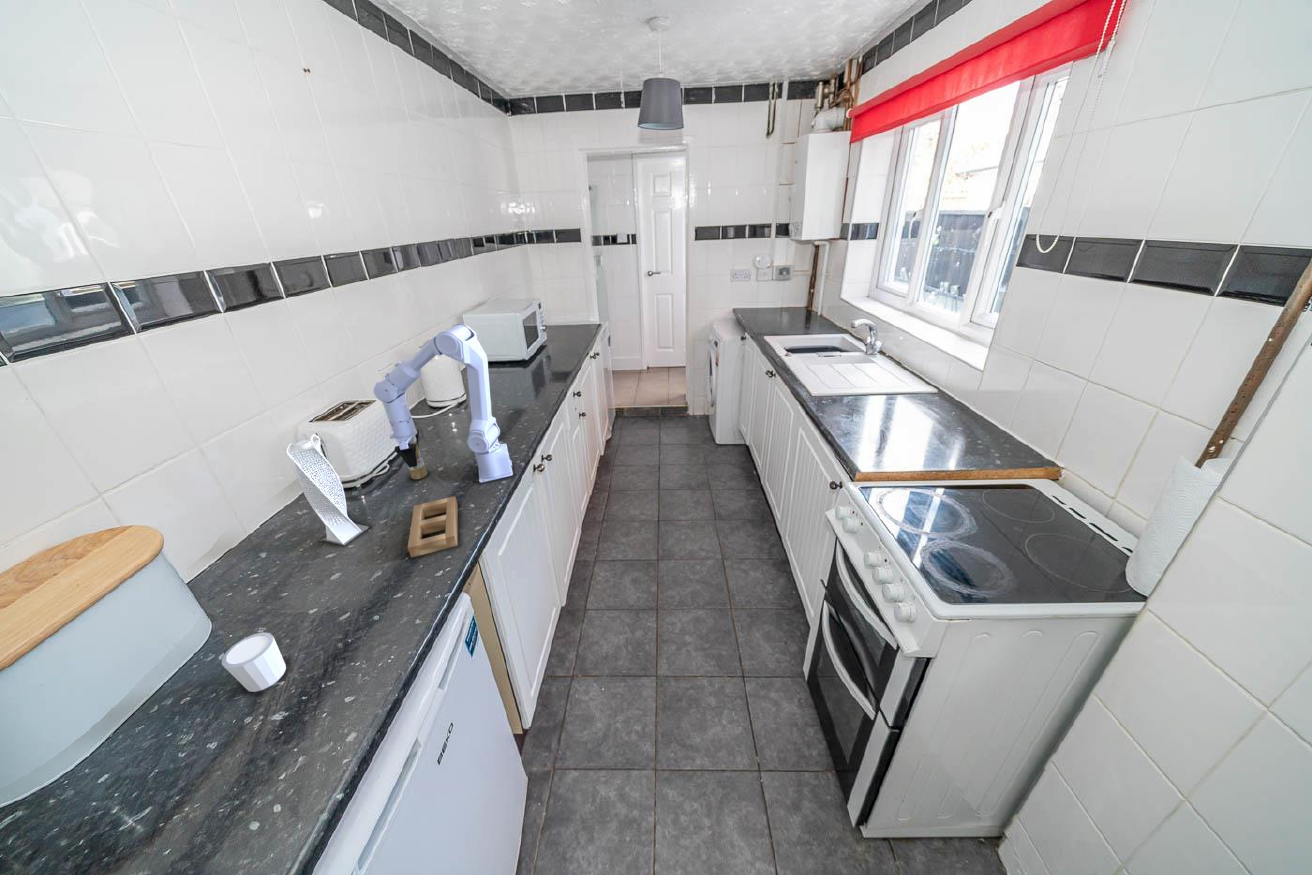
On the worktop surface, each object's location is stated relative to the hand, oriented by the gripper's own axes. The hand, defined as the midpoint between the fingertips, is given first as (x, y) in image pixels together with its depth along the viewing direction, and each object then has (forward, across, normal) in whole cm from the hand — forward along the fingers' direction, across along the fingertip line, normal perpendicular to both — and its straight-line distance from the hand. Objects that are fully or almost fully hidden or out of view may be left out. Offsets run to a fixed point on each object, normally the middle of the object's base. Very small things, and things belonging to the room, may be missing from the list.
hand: (414, 460), depth 135 cm
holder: (+5, +31, +6) cm, 32 cm away
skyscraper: (+6, +24, -15) cm, 29 cm away
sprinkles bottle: (+6, 0, 0) cm, 6 cm away
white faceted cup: (+6, +63, -20) cm, 66 cm away
